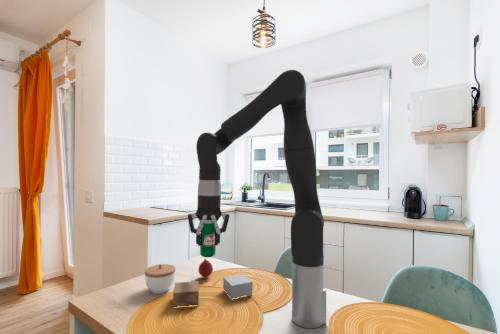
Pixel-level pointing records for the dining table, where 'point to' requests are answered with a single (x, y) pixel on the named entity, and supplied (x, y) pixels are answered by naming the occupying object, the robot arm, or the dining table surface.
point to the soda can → (208, 239)
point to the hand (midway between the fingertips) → (208, 244)
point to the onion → (205, 268)
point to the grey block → (237, 285)
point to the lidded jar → (159, 277)
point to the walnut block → (186, 294)
